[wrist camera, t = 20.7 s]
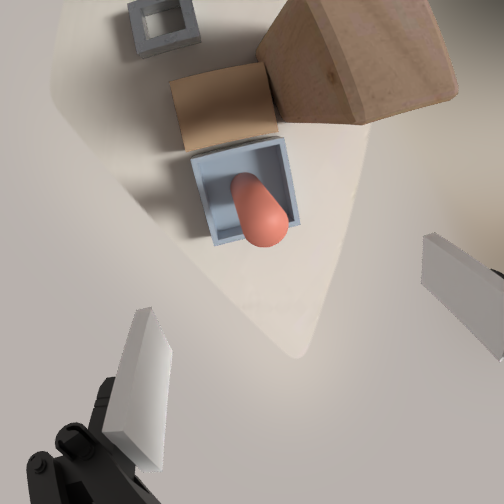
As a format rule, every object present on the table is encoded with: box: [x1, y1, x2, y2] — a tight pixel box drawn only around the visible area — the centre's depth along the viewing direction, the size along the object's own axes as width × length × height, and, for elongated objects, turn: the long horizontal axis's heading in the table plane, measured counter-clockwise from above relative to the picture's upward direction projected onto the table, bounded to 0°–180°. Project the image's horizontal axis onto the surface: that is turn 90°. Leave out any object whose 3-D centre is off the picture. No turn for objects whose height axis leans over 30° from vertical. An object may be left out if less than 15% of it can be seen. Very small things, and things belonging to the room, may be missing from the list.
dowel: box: [230, 172, 289, 247], centre depth 30 cm, size 4×4×14 cm
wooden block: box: [256, 0, 458, 125], centre depth 23 cm, size 10×10×20 cm
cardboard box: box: [169, 61, 279, 152], centre depth 32 cm, size 8×10×4 cm
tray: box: [190, 136, 300, 246], centre depth 35 cm, size 10×10×4 cm
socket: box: [127, 0, 201, 59], centre depth 27 cm, size 7×7×3 cm
